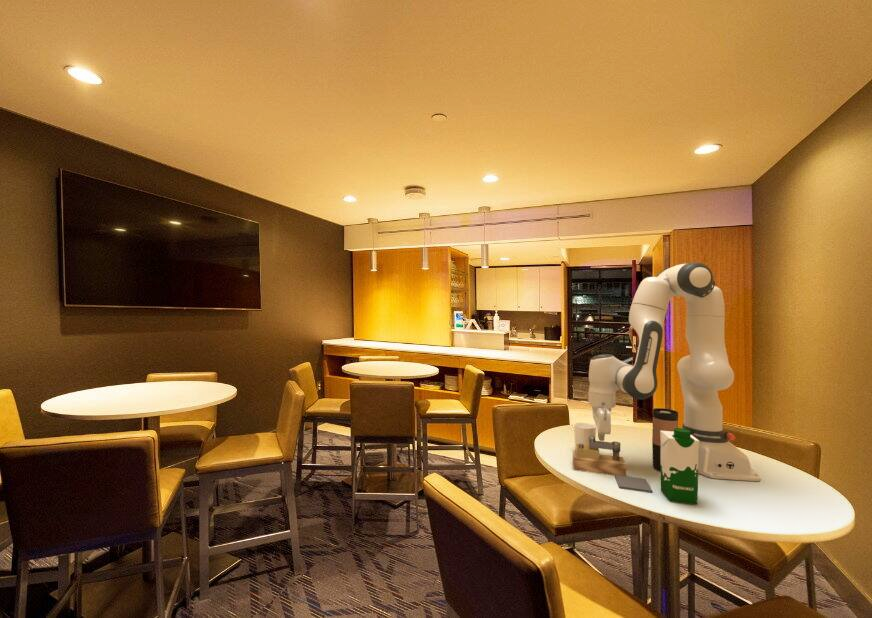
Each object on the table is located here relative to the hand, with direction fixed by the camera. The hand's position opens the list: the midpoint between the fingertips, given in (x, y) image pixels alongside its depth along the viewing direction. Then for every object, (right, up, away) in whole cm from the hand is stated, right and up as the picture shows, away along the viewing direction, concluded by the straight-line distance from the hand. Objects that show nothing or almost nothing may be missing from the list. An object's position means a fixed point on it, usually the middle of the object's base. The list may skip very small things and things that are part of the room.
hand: (601, 439), depth 135 cm
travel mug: (+20, -9, -4) cm, 22 cm away
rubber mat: (+3, -8, -16) cm, 19 cm away
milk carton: (+12, -9, -24) cm, 28 cm away
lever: (-1, -1, -6) cm, 6 cm away
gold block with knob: (-7, -4, -4) cm, 9 cm away
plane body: (-3, -8, -5) cm, 10 cm away
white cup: (-1, -9, +12) cm, 15 cm away
